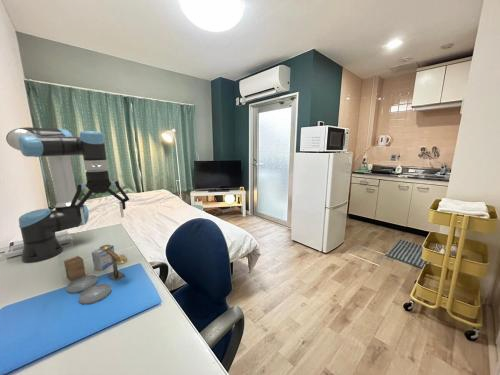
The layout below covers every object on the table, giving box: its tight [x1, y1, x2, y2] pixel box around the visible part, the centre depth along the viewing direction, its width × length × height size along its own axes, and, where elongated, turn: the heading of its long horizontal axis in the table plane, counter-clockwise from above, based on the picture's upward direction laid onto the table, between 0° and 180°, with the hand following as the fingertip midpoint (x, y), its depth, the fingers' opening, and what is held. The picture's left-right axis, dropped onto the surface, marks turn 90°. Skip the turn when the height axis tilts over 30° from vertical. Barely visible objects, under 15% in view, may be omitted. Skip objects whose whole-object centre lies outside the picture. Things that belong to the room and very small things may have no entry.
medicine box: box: [91, 244, 115, 271], centre depth 98 cm, size 8×4×9 cm, turn 168°
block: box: [63, 255, 87, 282], centre depth 89 cm, size 5×5×8 cm
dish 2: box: [78, 282, 112, 305], centre depth 79 cm, size 10×10×1 cm
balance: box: [99, 244, 128, 282], centre depth 89 cm, size 17×4×12 cm, turn 59°
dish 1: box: [65, 274, 99, 294], centre depth 85 cm, size 10×10×1 cm
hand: (104, 220), depth 89 cm, fingers open, 13 cm apart
